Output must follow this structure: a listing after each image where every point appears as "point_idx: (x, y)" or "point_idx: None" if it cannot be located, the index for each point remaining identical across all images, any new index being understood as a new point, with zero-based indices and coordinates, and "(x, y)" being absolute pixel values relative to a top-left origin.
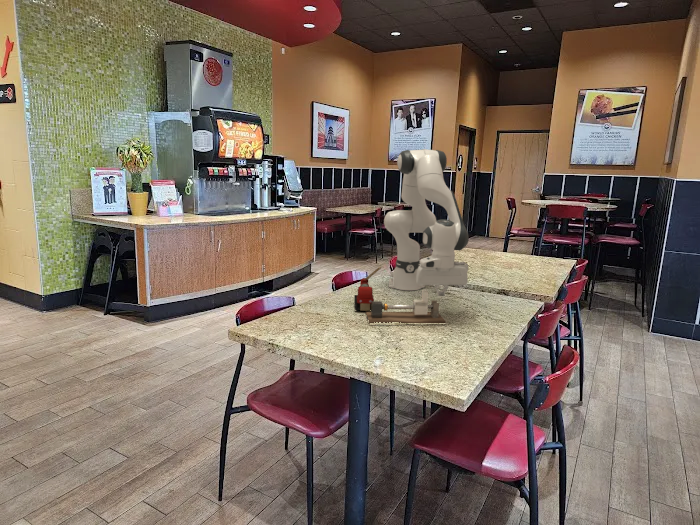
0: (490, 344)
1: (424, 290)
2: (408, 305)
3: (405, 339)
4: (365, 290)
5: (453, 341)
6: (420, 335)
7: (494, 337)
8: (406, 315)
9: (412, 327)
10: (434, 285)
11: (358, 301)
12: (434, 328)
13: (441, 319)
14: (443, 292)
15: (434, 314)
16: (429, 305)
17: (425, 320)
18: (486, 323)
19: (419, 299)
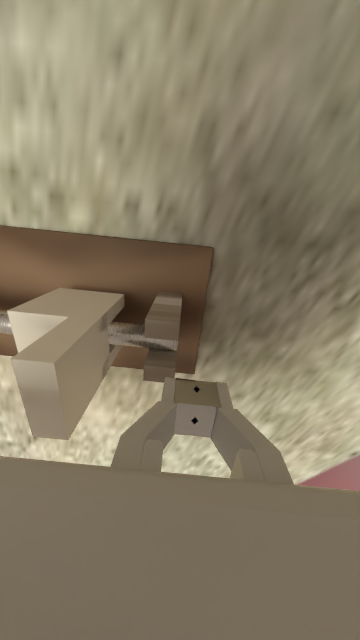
0: None
1: (35, 383)
2: (2, 331)
3: (42, 439)
4: None
5: (165, 461)
6: (86, 424)
7: (288, 457)
8: (41, 289)
9: None
10: (115, 455)
11: None
12: (143, 386)
13: (185, 354)
14: (209, 432)
15: None
16: (127, 344)
17: (116, 357)
18: (357, 368)
19: (53, 317)
